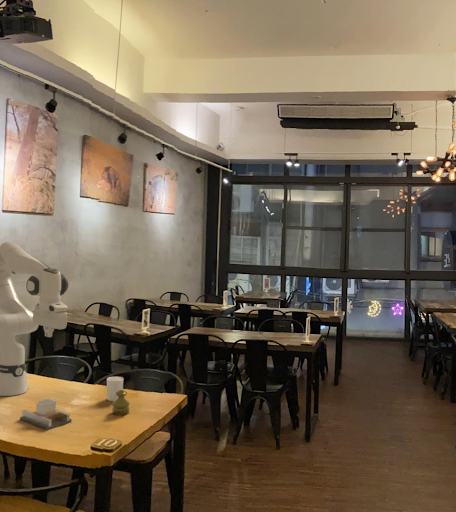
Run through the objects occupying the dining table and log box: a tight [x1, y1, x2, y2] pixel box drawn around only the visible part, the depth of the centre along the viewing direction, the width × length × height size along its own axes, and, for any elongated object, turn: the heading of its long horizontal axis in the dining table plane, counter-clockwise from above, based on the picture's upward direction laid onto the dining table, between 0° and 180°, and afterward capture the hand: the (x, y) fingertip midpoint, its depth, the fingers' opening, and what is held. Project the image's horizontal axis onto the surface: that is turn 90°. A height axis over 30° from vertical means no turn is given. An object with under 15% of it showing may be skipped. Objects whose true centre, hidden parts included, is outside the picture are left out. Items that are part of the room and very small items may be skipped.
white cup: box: [106, 376, 124, 402], centre depth 233 cm, size 8×8×10 cm
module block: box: [35, 398, 57, 416], centre depth 202 cm, size 4×6×7 cm
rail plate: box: [19, 408, 72, 431], centre depth 202 cm, size 18×12×4 cm, turn 56°
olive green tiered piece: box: [111, 389, 130, 416], centre depth 215 cm, size 7×7×10 cm
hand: (48, 336), depth 214 cm, fingers closed
